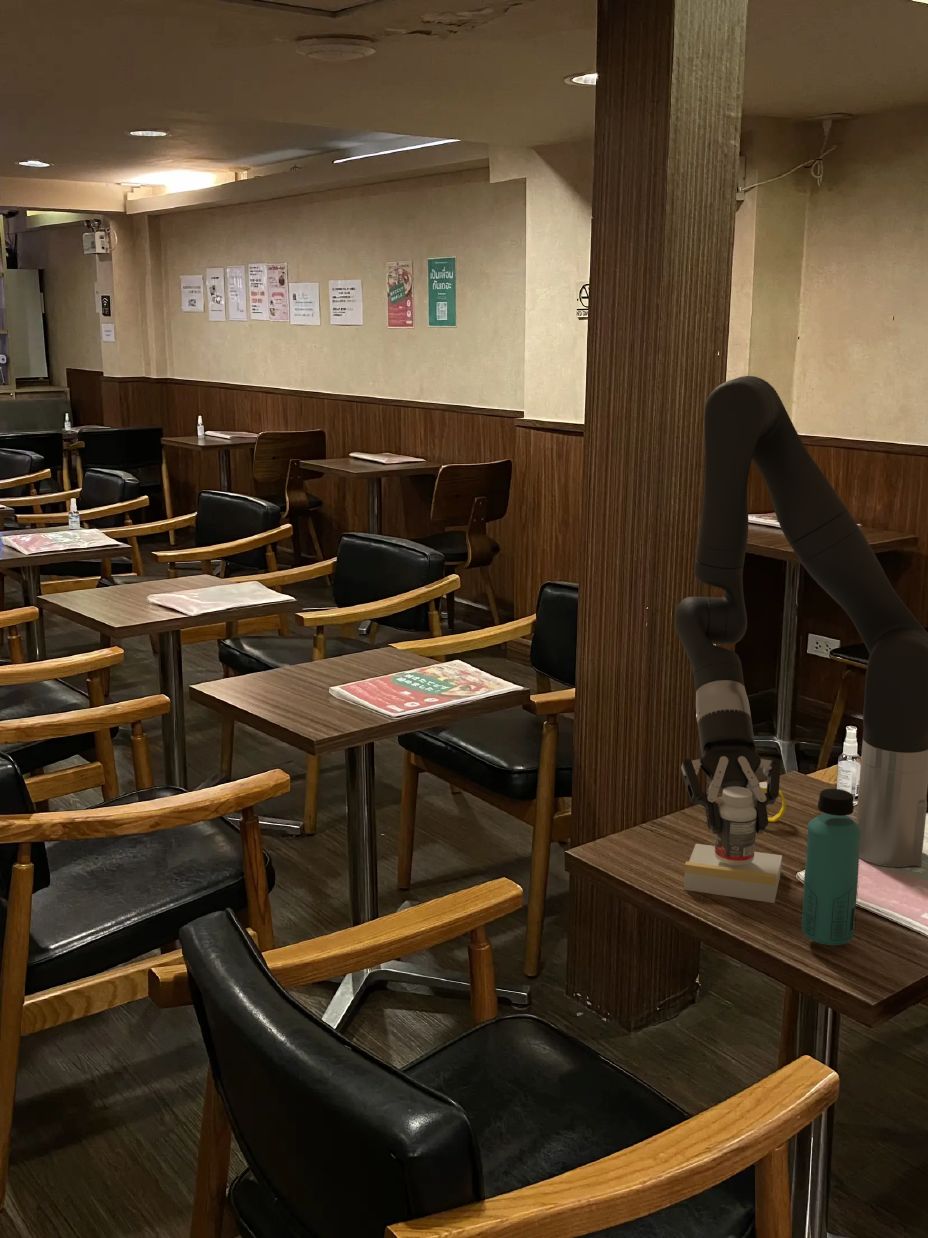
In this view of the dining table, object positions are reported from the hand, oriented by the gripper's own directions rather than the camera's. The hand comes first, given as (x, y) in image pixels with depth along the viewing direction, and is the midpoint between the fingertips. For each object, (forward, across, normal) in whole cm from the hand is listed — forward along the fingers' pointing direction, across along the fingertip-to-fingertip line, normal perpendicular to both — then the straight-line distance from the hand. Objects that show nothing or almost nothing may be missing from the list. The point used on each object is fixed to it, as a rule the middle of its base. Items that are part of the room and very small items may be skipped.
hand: (739, 831), depth 162 cm
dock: (+5, 0, +7) cm, 8 cm away
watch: (-10, +10, +22) cm, 26 cm away
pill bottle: (+2, 0, +5) cm, 5 cm away
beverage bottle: (+17, +7, -6) cm, 19 cm away
